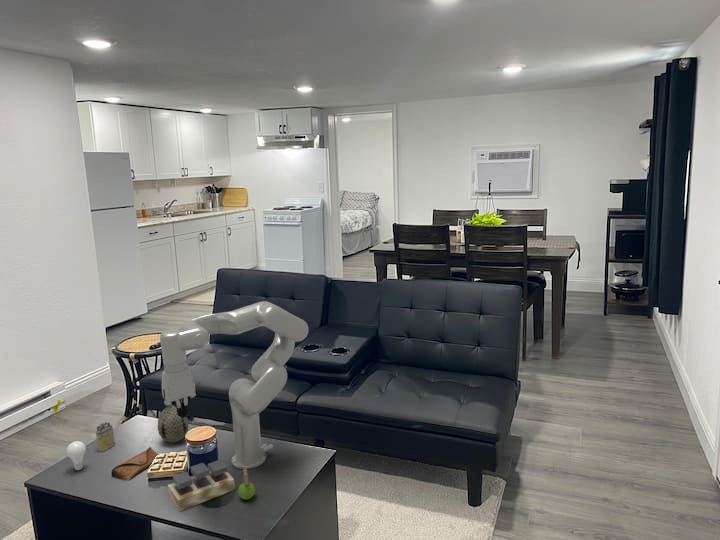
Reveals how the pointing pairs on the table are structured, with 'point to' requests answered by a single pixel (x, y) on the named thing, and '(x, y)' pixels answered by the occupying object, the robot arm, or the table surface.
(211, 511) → the table surface
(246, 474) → the green maraca
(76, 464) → the lightbulb
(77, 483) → the table surface
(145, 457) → the sunglasses case
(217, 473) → the switch
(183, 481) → the switch
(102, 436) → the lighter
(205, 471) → the switch middle
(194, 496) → the switch panel
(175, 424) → the decorative egg
